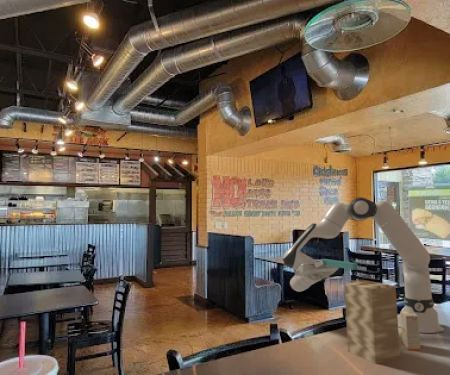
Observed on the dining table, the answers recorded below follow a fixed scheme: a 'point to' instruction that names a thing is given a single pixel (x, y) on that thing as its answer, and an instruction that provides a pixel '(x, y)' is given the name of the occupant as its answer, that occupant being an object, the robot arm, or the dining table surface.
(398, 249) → the robot arm
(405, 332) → the supplement box
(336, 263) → the teal bar
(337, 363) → the dining table surface
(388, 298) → the birch post
